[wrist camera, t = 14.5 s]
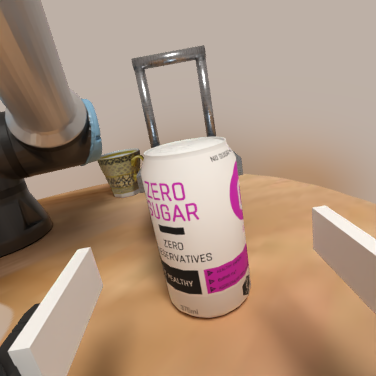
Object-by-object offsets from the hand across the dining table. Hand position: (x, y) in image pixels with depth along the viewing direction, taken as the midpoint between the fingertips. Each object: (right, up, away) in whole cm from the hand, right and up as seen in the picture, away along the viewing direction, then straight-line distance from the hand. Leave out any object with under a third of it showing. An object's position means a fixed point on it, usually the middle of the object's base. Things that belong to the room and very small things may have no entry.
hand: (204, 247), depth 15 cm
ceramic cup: (-14, +2, +48) cm, 50 cm away
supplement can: (+1, -7, +11) cm, 13 cm away
